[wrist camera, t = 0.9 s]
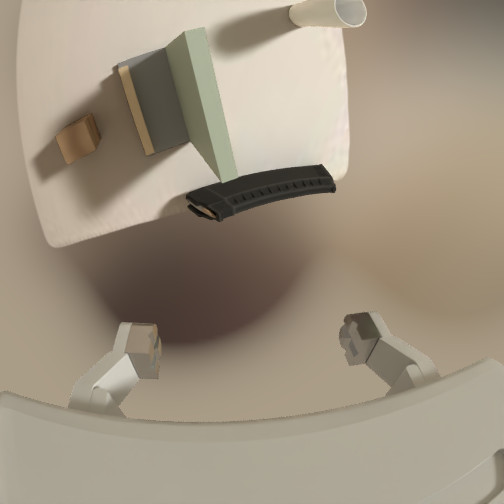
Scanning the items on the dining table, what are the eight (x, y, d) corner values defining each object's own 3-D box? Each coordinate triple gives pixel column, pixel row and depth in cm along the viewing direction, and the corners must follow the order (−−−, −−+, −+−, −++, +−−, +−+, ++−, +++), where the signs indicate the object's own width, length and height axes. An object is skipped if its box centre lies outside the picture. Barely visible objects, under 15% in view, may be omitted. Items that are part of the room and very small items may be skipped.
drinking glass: (294, 35, 40) (345, 33, 30) (277, 7, 36) (326, -5, 25) (319, 23, 40) (373, 21, 29) (304, -4, 35) (356, -14, 24)
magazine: (351, 175, 55) (233, 230, 41) (349, 189, 57) (235, 247, 43) (293, 152, 65) (181, 191, 51) (292, 164, 67) (183, 206, 54)
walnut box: (74, 151, 39) (64, 166, 33) (64, 127, 36) (52, 138, 30) (100, 138, 40) (95, 150, 34) (91, 113, 37) (83, 121, 31)
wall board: (147, 155, 46) (157, 208, 31) (117, 64, 34) (103, 58, 18) (199, 136, 47) (238, 177, 32) (175, 44, 35) (204, 26, 20)
